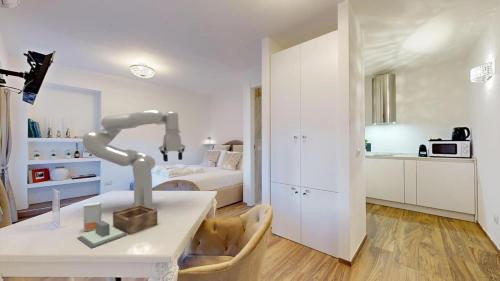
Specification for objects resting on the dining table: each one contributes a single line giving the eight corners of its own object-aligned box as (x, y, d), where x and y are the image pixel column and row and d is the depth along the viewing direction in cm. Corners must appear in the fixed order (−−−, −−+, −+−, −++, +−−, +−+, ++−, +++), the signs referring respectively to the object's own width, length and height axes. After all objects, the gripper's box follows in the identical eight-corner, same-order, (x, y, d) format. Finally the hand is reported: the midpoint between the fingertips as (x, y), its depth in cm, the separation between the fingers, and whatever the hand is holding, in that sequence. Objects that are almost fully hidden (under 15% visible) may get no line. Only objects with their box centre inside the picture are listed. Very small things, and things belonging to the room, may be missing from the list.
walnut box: (129, 234, 91) (129, 218, 91) (113, 226, 100) (112, 212, 100) (157, 224, 102) (157, 210, 102) (139, 217, 111) (139, 204, 111)
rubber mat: (77, 238, 88) (77, 237, 88) (111, 227, 99) (111, 226, 99) (91, 248, 80) (91, 247, 80) (127, 235, 90) (127, 234, 90)
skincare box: (83, 232, 94) (83, 205, 94) (85, 228, 98) (85, 203, 98) (99, 229, 97) (99, 203, 97) (101, 226, 101) (101, 201, 100)
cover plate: (93, 245, 81) (93, 231, 81) (80, 237, 88) (80, 224, 88) (123, 234, 90) (123, 222, 90) (109, 227, 97) (109, 216, 97)
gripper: (181, 132, 135) (182, 158, 135) (155, 132, 121) (156, 161, 121) (188, 132, 130) (189, 159, 130) (161, 132, 116) (163, 162, 117)
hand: (173, 160), depth 126 cm, fingers open, 9 cm apart
